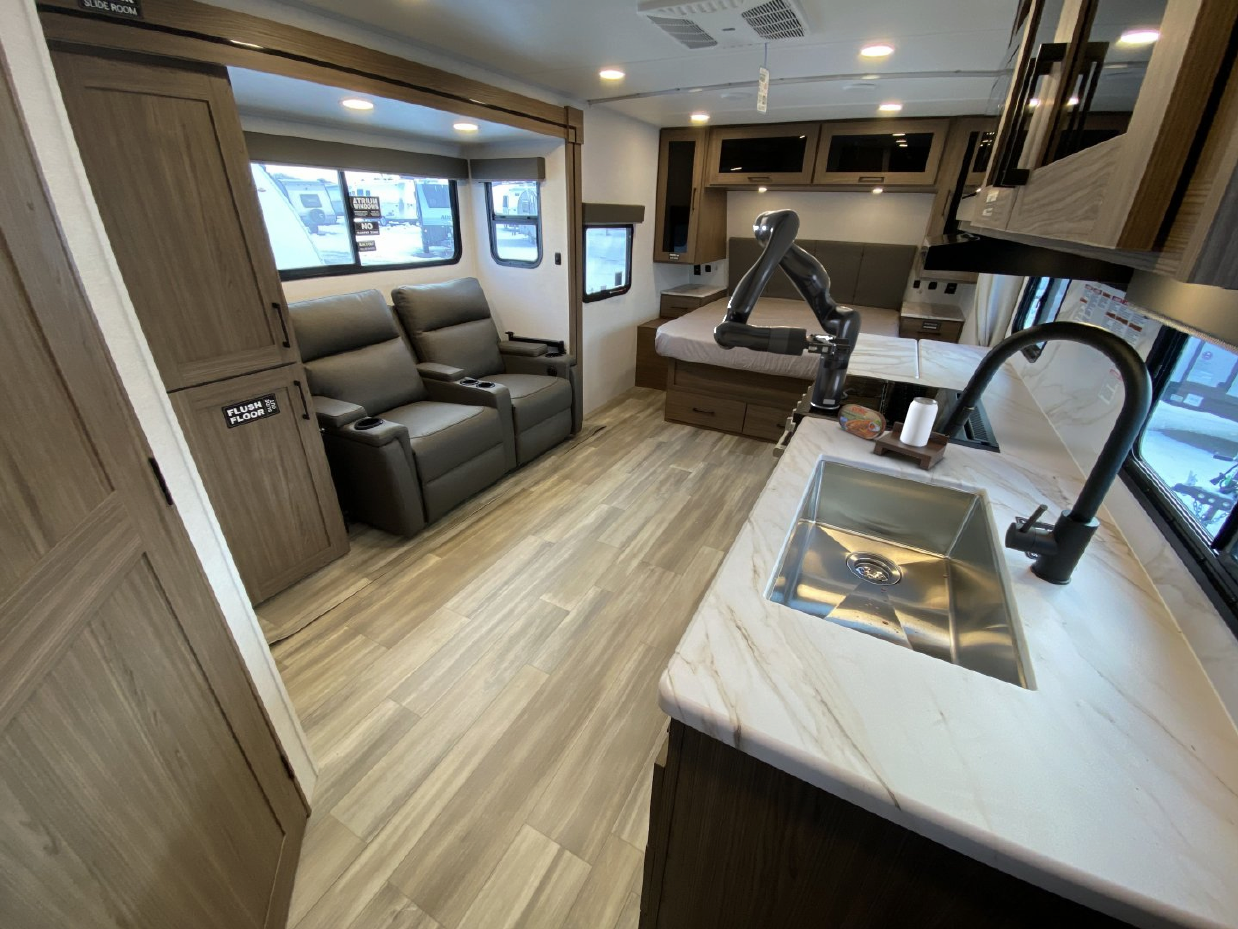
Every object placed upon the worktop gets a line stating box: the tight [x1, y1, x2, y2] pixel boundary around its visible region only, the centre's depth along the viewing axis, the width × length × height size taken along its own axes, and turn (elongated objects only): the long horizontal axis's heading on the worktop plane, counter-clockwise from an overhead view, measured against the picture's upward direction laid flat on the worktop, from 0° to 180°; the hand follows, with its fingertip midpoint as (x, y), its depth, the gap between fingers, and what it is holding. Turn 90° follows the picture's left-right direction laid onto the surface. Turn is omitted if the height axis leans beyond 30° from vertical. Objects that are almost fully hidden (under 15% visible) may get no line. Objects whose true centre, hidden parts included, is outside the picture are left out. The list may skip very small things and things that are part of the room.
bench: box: [872, 421, 951, 471], centre depth 135 cm, size 12×14×6 cm
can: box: [900, 396, 939, 447], centre depth 132 cm, size 6×6×12 cm
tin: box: [837, 403, 887, 440], centre depth 148 cm, size 15×3×8 cm, turn 27°
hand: (849, 346), depth 132 cm, fingers open, 8 cm apart
